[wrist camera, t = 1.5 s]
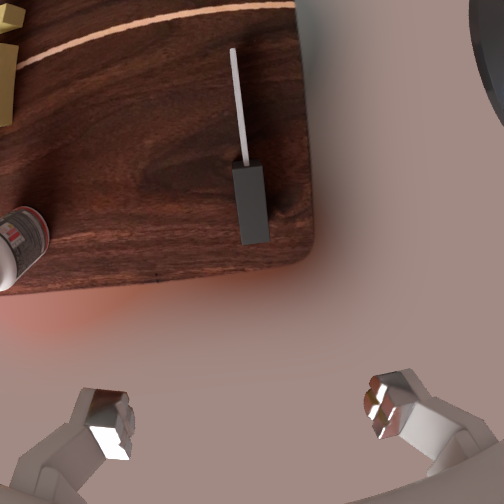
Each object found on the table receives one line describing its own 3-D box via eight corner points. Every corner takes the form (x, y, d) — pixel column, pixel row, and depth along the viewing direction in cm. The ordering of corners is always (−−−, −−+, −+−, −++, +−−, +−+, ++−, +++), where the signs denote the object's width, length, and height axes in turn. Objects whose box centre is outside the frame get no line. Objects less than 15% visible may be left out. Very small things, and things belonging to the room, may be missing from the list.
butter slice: (26, 9, 18) (6, 2, 14) (22, 27, 18) (2, 22, 15) (-2, 18, 17) (-22, 14, 14) (-6, 35, 18) (-26, 32, 15)
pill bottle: (21, 193, 26) (-42, 230, 17) (59, 227, 27) (4, 276, 18) (3, 234, 27) (-52, 279, 18) (39, 266, 29) (-10, 320, 20)
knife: (246, 53, 22) (248, 45, 19) (265, 225, 29) (270, 241, 25) (218, 56, 22) (216, 48, 19) (240, 228, 29) (242, 245, 25)
